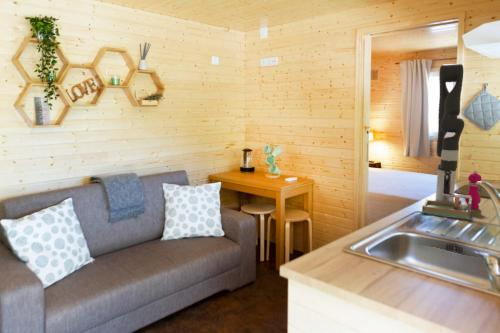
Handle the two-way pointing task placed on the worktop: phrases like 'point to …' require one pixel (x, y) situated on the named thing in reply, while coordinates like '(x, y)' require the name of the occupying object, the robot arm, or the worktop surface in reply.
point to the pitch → (445, 209)
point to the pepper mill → (474, 190)
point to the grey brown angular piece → (456, 197)
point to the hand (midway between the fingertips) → (446, 193)
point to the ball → (463, 207)
